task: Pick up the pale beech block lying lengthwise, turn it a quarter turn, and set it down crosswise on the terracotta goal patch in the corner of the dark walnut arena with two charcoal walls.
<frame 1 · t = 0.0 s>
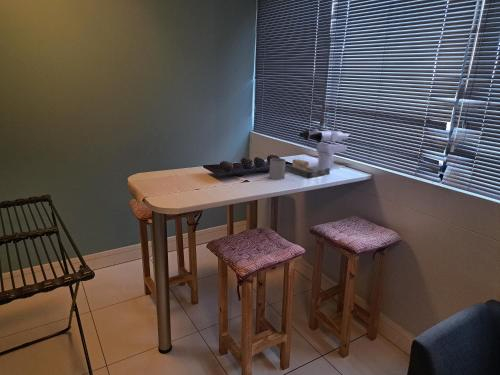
hand: (305, 135, 193), 22 cm above the table, tool horizontal, fingers open, 7 cm apart
cup: (276, 177, 190), on the table
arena: (304, 172, 201), on the table
block: (300, 168, 206), point 1 cm above the table, touching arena
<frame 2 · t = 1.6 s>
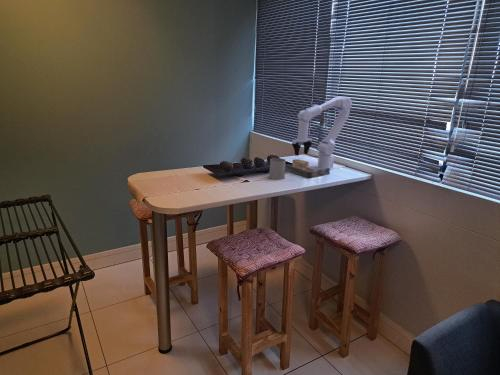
hand: (301, 154, 204), 9 cm above the table, tool pointing down, fingers open, 7 cm apart
nothing on the table moved.
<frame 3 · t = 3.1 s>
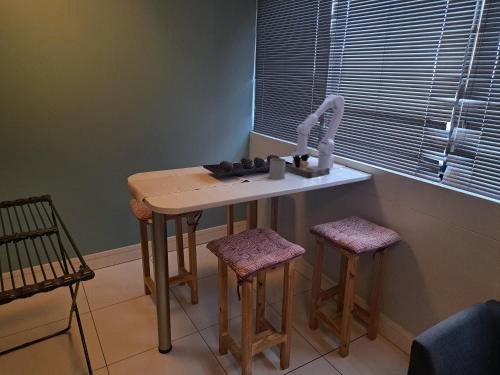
hand: (300, 167, 206), 2 cm above the table, tool pointing down, fingers closed on block, 4 cm apart
block: (300, 168, 206), point 1 cm above the table, touching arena, gripper
everything else where it was.
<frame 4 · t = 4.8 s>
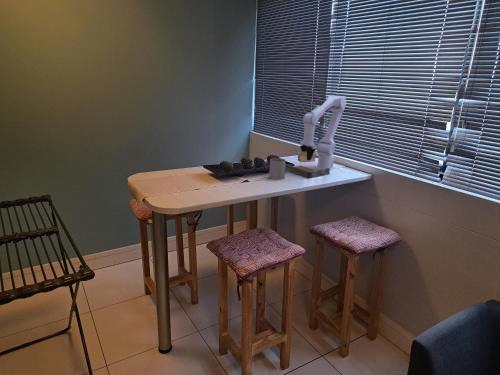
hand: (306, 158, 198), 8 cm above the table, tool pointing down, fingers closed on block, 4 cm apart
block: (306, 160, 198), point 7 cm above the table, touching gripper
everything else where it was.
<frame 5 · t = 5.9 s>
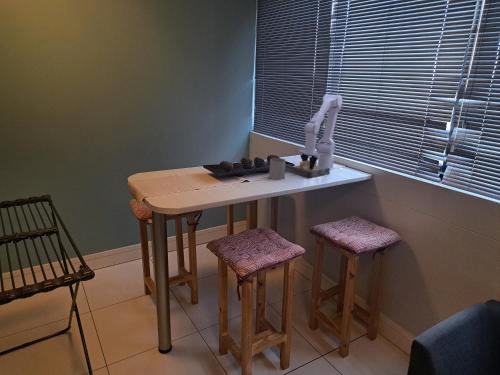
hand: (308, 168, 197), 4 cm above the table, tool pointing down, fingers closed on block, 4 cm apart
block: (307, 170, 197), point 2 cm above the table, touching gripper
everything else where it was.
when the fingers open (3 cm above the table, at t = 6.6 s): block stays where it is, resting on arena.
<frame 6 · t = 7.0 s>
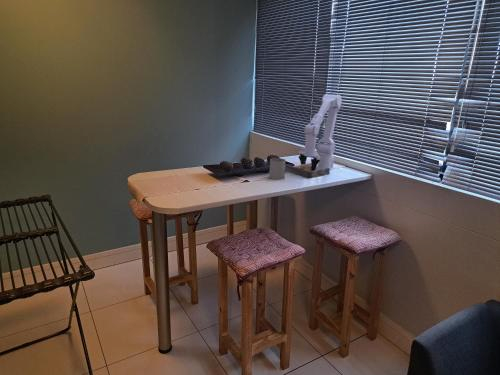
hand: (308, 169, 197), 3 cm above the table, tool pointing down, fingers open, 7 cm apart
block: (307, 173, 198), point 1 cm above the table, touching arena
everything else where it was.
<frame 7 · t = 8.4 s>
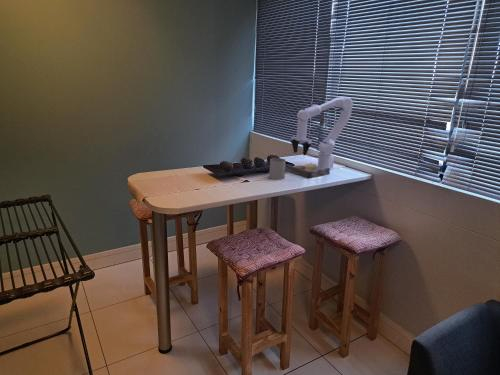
hand: (300, 153, 207), 9 cm above the table, tool pointing down, fingers open, 7 cm apart
nothing on the table moved.
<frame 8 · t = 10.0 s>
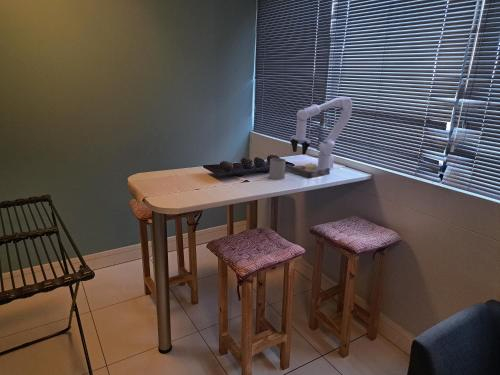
hand: (299, 153, 208), 9 cm above the table, tool pointing down, fingers open, 7 cm apart
nothing on the table moved.
at the end: block 0.3 cm from the target spot, point 0.6 cm above the table; block tilted 0°; the gripper is holding nothing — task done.
